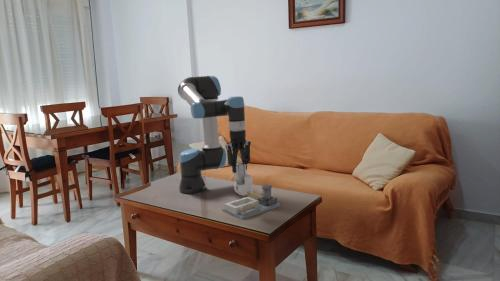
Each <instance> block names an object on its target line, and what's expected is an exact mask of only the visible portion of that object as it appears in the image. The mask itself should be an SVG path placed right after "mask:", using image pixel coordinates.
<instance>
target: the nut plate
mask: <svg viewBox="0 0 500 281" xmlns="http://www.w3.org/2000/svg"><path fill="white" fill-rule="evenodd" d="M261 189H262V193H263V194H262V195H263V199H264V200H270V199H271V196H272V189H273V185H271V184H263V185H262V186H261ZM279 207H281V203H280V202H277V203H275V204H272V205H269V206H265V205H263V204H260V203H259V201H258V200H256V199H253V198H251V197H248V196H245V197H242V198H239V199H237V200H233V201H230V202H226V203H224V207H222V208H221V209H222V210H221V211H223V212H225V213H226V214H229V215H231V216H233V217H236V218H237V219H240V220H245V219H247V218H250V217H253V216H257V215H259V214H262V213H264V212H267V211H270V210H274V209H276V208H279Z"/></svg>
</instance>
